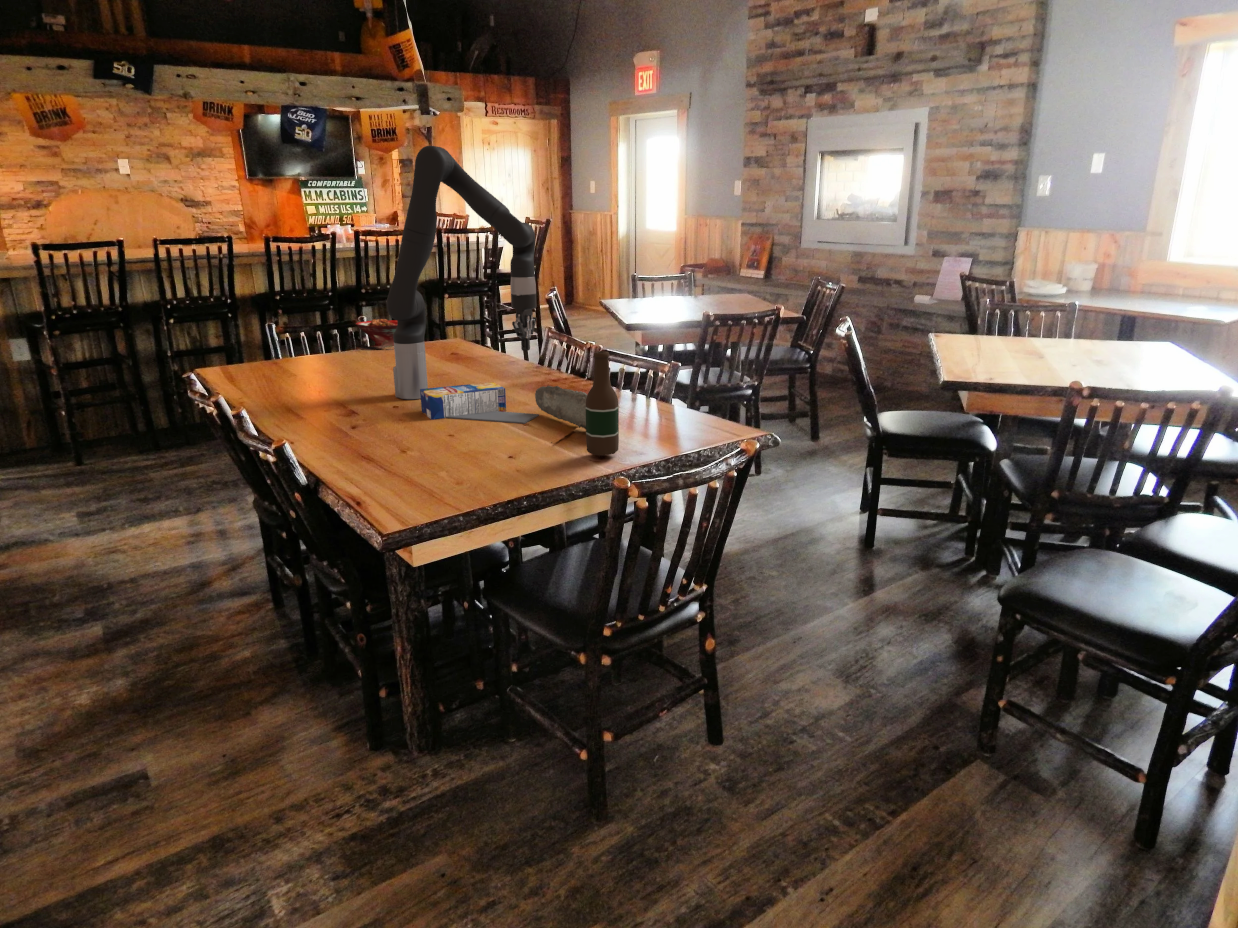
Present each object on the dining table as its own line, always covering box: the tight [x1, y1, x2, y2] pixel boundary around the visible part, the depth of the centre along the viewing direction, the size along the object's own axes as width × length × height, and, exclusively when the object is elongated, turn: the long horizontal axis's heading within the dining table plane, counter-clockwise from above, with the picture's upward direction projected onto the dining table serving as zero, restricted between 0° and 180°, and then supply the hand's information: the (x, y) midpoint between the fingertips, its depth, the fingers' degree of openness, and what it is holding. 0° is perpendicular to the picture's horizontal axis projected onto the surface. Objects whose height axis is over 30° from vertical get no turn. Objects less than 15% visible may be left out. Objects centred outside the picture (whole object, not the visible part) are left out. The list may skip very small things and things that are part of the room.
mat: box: [445, 411, 540, 425], centre depth 232 cm, size 24×10×1 cm, turn 73°
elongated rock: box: [534, 385, 588, 430], centre depth 222 cm, size 35×5×10 cm, turn 38°
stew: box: [355, 318, 397, 351], centre depth 344 cm, size 28×24×16 cm
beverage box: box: [420, 381, 507, 421], centre depth 238 cm, size 7×11×22 cm
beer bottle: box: [585, 350, 620, 456], centre depth 194 cm, size 8×8×24 cm
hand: (525, 350), depth 250 cm, fingers closed
